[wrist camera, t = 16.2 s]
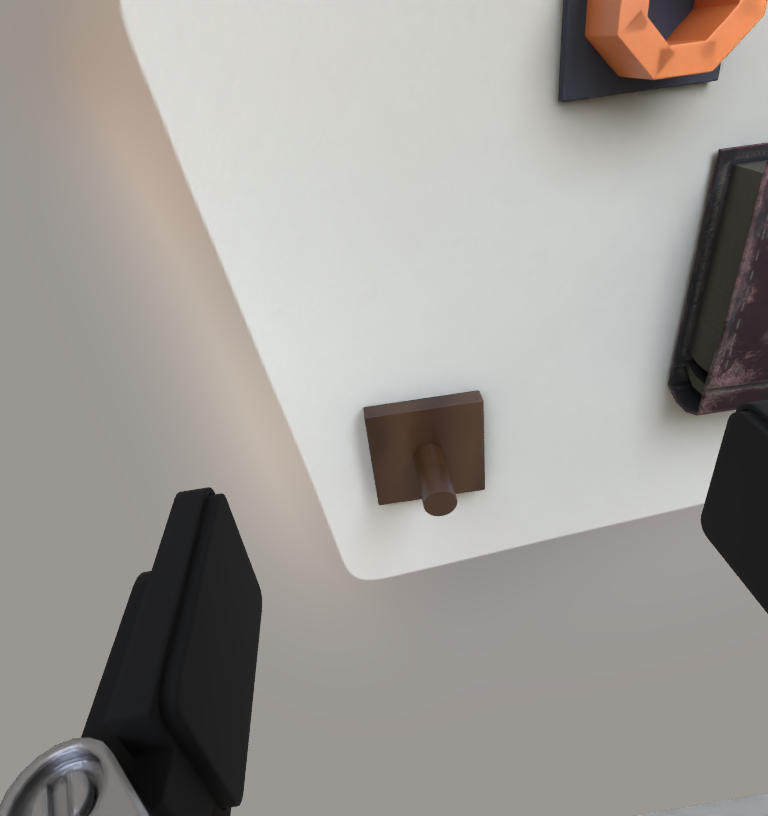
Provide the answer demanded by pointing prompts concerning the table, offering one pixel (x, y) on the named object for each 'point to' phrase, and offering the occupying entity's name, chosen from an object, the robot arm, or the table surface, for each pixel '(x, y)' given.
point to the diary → (728, 292)
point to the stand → (427, 449)
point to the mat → (592, 73)
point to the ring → (682, 51)
